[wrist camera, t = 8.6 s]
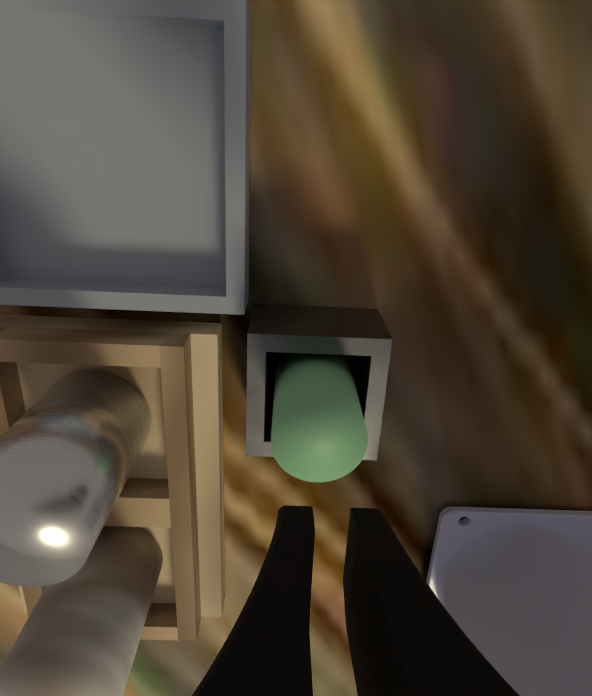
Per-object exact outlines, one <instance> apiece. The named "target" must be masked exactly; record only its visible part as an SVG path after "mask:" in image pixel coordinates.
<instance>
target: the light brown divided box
mask: <svg viewBox="0 0 592 696" xmlns="http://www.w3.org/2000/svg"><path fill="white" fill-rule="evenodd" d="M83 369H97V370H103V371H107V372H110V373H113V374H116V375H118V376H120V377H122V378H123V379H125V380H127V381H128V382H129V383H131V384H132V385H133V386H134V387H135V388H136V389H137V390H138V391H139V392H140V393H141V394H142V396H143V397H144V399H145V400H146V402H147V405H148V407H149V410H150V413H151V431H150V434H149V437H148V439H147V441H146V443H145V445H144V447H143V449H142V451H141V453H140V455H139V457H138V459H137V461H136V463H135V465H134V467H133V469H132V471H131V473H130V475H129V477H128V479H127V481H126V483H125V485H124V487H123V489H122V491H121V493H120V495H119V497H118V499H117V501H116V503H115V504H114V506H113V508H112V510H111V512H110V514H109V516H108V518H107V520H106V522H105V524H104V526H103V528H102V530H101V532H100V534H99V536H98V538H97V540H96V542H95V544H94V546H93V548H92V550H91V552H90V554H89V556H88V558H87V560H86V562H85V564H84V565H83V566H82V568H81V569H80V570H79V571H78V572H77V573H76V574H74V575H73V576H71V577H70V578H68V579H66V580H64V581H62V582H59V583H56V584H53V585H48V586H42V587H22V586H19V590H20V595H21V599H22V603H23V608H24V612H28V617H29V618H28V620H27V622H26V623H25V625H24V627H23V629H22V631H21V633H20V634H19V636H18V638H17V640H16V642H15V644H14V645H13V647H12V649H11V651H10V653H9V655H8V656H7V658H6V660H5V662H4V664H3V665H2V667H1V669H0V696H123V693H124V690H125V687H126V683H127V680H128V677H129V674H130V670H131V667H132V664H133V660H134V657H135V654H136V651H137V647H138V644H139V641H140V639H146V640H184V641H197V636H198V631H199V625H200V620H201V617H222V612H223V606H224V599H225V553H224V470H223V386H222V323H204V322H180V321H156V320H131V319H107V318H82V317H58V316H33V315H9V314H0V438H1V437H2V436H3V435H4V434H5V433H6V432H7V431H8V430H9V428H10V427H11V426H12V425H13V424H14V423H15V422H16V421H17V420H18V419H19V418H20V417H21V416H22V415H23V414H24V413H25V412H26V411H27V410H28V409H29V408H30V407H31V406H32V405H33V404H34V403H35V402H36V401H37V400H38V399H39V398H40V397H41V396H42V395H43V394H44V393H45V392H46V391H47V390H48V389H49V388H50V387H51V386H52V385H53V384H54V383H55V382H56V381H57V380H58V379H59V378H61V377H62V376H64V375H66V374H68V373H70V372H73V371H77V370H83Z"/></svg>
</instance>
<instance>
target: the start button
mask: <svg viewBox="0 0 592 696" xmlns="http://www.w3.org/2000/svg"><path fill="white" fill-rule="evenodd" d="M367 445H368V435H367V430H366V426H365V422H364V418H363V414H362V410H361V406H360V402H359V398H358V394H357V390H356V386H355V382H354V378H353V374H352V370H351V367H350V364H349V362H348V360H347V359H346V357H345V356H344V355H334V354H309V353H286V354H285V355H284V356H283V358H282V359H281V360H280V362H279V364H278V366H277V369H276V375H275V389H274V403H273V416H272V430H271V449H272V453H273V455H274V458H275V459H276V461H277V463H278V464H279V465H280V466H281V467H282V469H283V470H285V471H286V472H287V473H289V474H290V475H292V476H294V477H296V478H298V479H301V480H304V481H309V482H327V481H332V480H336V479H339V478H341V477H343V476H345V475H347V474H348V473H350V472H351V471H352V470H354V469H355V468H356V467H357V466H358V465H359V463H360V462H361V461H362V459H363V457H364V455H365V453H366V450H367Z"/></svg>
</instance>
